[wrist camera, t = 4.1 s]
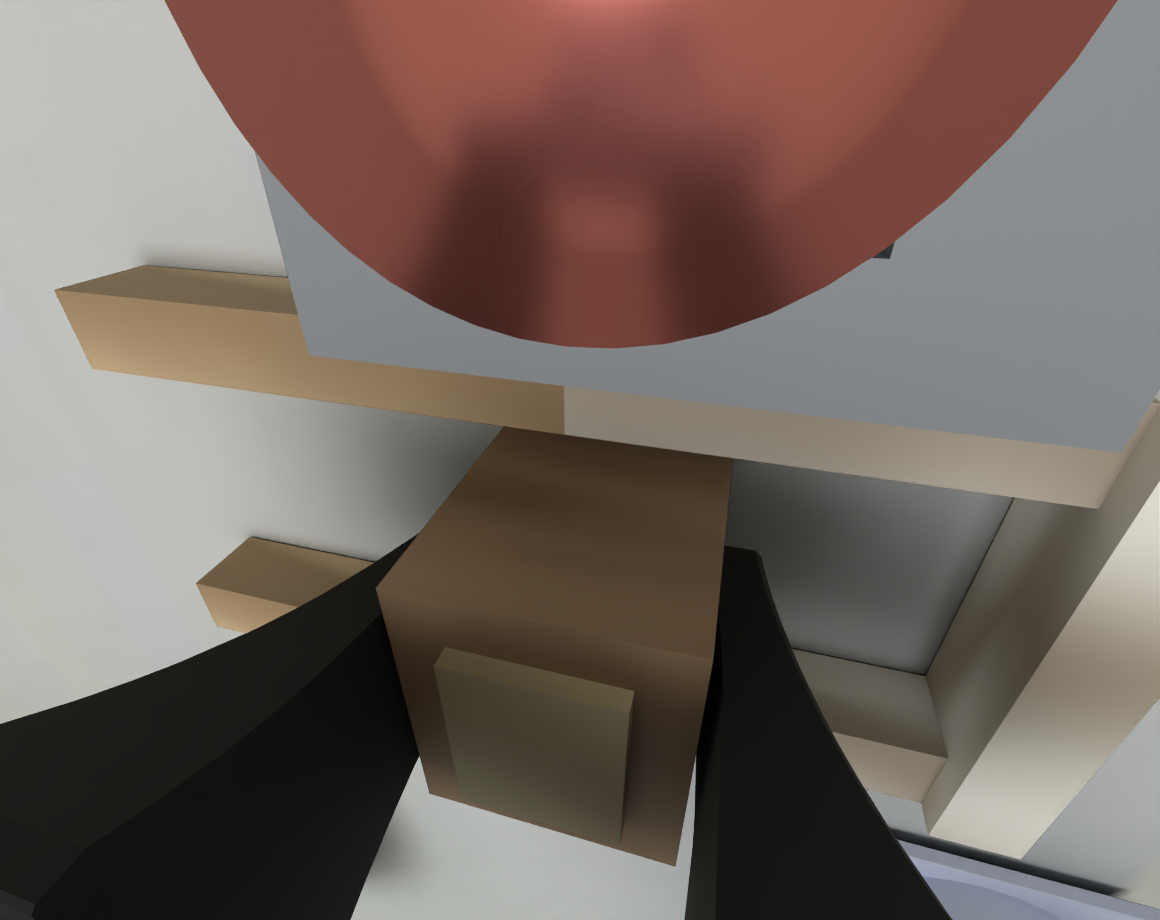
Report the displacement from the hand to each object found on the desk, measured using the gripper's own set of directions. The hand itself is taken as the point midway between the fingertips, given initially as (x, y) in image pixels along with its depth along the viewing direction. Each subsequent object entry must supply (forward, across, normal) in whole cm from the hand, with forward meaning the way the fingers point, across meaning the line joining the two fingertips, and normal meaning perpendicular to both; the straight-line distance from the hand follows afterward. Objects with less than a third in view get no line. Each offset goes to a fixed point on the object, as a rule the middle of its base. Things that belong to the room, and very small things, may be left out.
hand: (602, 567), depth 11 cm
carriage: (+2, 0, 0) cm, 2 cm away
